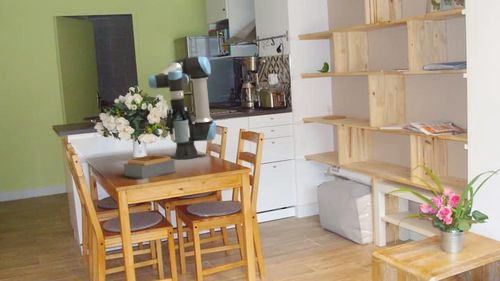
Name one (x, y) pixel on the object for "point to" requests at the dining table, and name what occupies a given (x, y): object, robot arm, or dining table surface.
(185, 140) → the green tapered cup
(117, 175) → the dining table surface
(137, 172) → the grey rectangular box
